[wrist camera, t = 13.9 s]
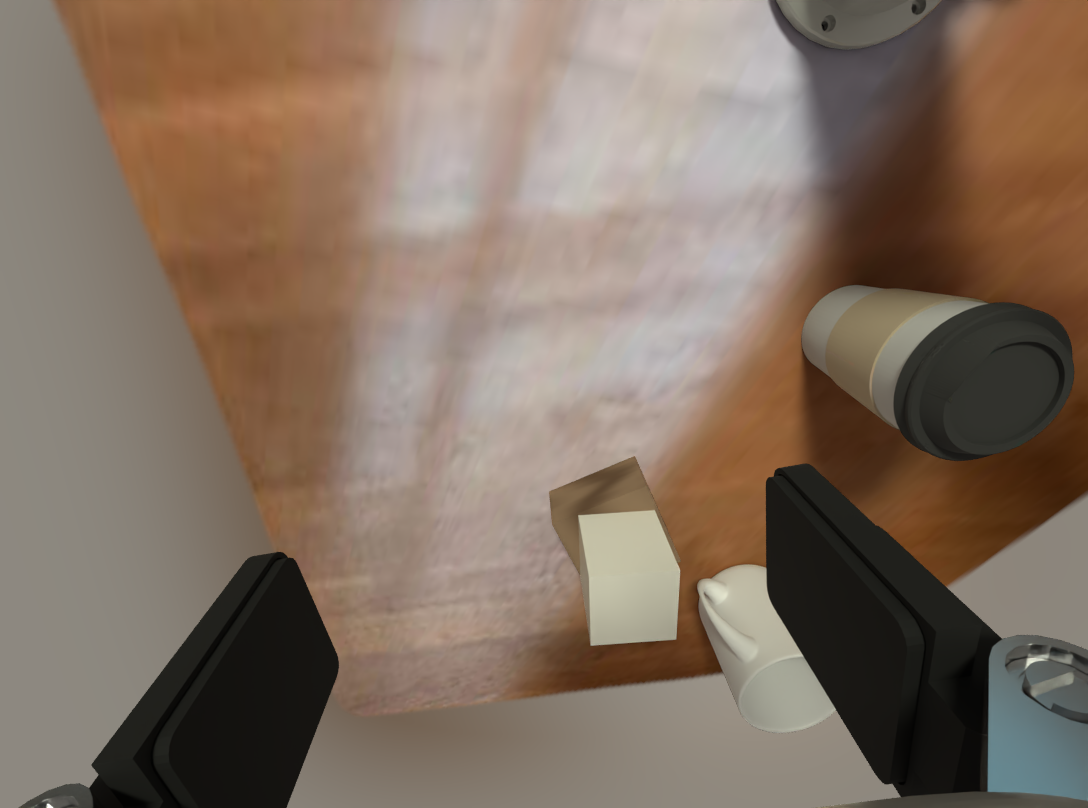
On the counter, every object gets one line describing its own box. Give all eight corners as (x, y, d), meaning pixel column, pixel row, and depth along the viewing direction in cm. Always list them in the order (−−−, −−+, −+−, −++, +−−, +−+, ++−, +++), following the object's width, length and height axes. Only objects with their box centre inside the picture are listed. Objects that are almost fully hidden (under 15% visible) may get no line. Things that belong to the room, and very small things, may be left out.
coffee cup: (927, 307, 40) (1144, 368, 26) (847, 402, 43) (1005, 502, 29) (841, 247, 38) (1026, 277, 24) (763, 350, 41) (889, 431, 27)
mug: (718, 526, 47) (771, 615, 37) (801, 590, 50) (870, 688, 40) (652, 585, 49) (685, 684, 39) (736, 643, 52) (786, 747, 42)
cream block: (654, 510, 40) (680, 570, 34) (652, 571, 42) (676, 639, 36) (578, 515, 40) (588, 576, 34) (580, 576, 42) (590, 645, 36)
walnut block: (634, 454, 44) (647, 485, 39) (665, 525, 47) (680, 561, 42) (549, 490, 45) (552, 524, 40) (584, 557, 48) (591, 595, 43)
